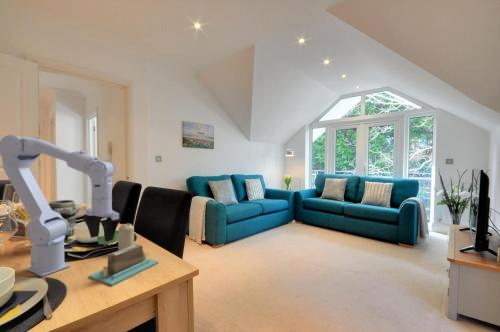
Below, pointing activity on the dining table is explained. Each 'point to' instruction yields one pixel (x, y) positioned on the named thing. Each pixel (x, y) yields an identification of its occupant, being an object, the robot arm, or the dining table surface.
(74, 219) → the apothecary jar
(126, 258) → the walnut frame
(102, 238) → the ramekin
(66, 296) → the dining table surface
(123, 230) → the candle
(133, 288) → the dining table surface
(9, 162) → the robot arm
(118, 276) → the light blue peg board
